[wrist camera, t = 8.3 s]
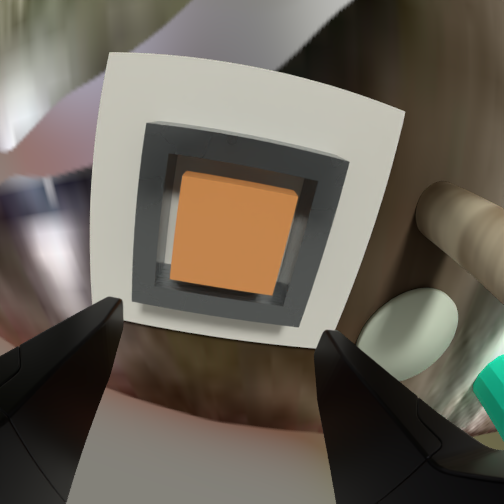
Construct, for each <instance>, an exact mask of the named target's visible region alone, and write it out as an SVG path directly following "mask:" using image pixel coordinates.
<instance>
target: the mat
mask: <svg viewBox="0 0 504 504" xmlns="http://www.w3.org/2000/svg"><path fill="white" fill-rule="evenodd" d="M457 324H458V312H457V308H456V305H455V304H454V302H453V301H452V300H451V299H450V298H449V296H448V295H447V294H445V293H444V292H443V291H440V290H438V289H434V288H418V289H413V290H410V291H407V292H405V293H402V294H400V295H398V296H396V297H395V298H393V299H391V300H390V301H388V302H387V303H385V304H384V305H383V306H382V307H381V308H379V309H378V310H377V311H376V312H375V313H374V314H373V315H372V316H371V318H370V319H369V320H368V321H367V323H366V324H365V326H364V327H363V329H362V331H361V333H360V335H359V337H358V340H357V343H356V346H357V347H358V348H360V349H361V350H362V351H363V352H364V353H366V354H367V355H368V356H369V357H370V358H372V359H373V360H374V361H375V362H376V363H378V364H379V365H380V366H381V367H382V368H384V369H385V370H386V371H387V372H389V373H390V374H391V375H392V376H393V377H395V378H396V379H397V380H398V381H402V380H405V379H408V378H411V377H413V376H415V375H417V374H419V373H420V372H422V371H424V370H425V369H427V368H428V367H429V366H431V365H432V364H433V363H434V362H435V361H436V360H437V359H439V357H440V356H441V355H442V354H443V353H444V352H445V350H446V349H447V348H448V346H449V345H450V343H451V341H452V339H453V337H454V335H455V332H456V329H457Z"/></svg>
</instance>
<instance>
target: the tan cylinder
mask: <svg viewBox="0 0 504 504" xmlns="http://www.w3.org/2000/svg"><path fill="white" fill-rule="evenodd" d="M416 223H417V227H418V229H419V230H420V232H421V233H422V234H423V235H424V236H425V237H426V238H428V239H429V240H430V241H431V242H433V243H434V244H435V245H436V246H438V247H439V248H440V249H441V250H443V251H444V252H445V253H446V254H447V255H449V256H450V257H451V258H452V259H453V260H455V261H456V262H457V263H458V264H459V265H460V266H462V267H463V268H464V269H465V270H466V271H467V272H468V273H470V274H471V275H472V276H473V277H474V278H475V279H476V280H478V281H479V282H480V283H481V284H482V285H483V286H484V287H485V288H486V289H487V290H489V291H490V292H491V293H492V294H493V295H494V296H495V297H496V298H497V299H498V300H499V301H500V302H501V303H502V304H503V305H504V209H503V208H501V207H500V206H498V205H496V204H494V203H492V202H490V201H488V200H486V199H484V198H482V197H480V196H478V195H476V194H473V193H471V192H469V191H467V190H465V189H463V188H461V187H459V186H456V185H454V184H452V183H450V182H446V181H439V182H436V183H434V184H432V185H430V186H429V187H428V188H427V189H426V190H425V191H424V192H423V193H422V195H421V197H420V199H419V201H418V204H417V207H416Z"/></svg>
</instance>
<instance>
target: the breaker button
mask: <svg viewBox="0 0 504 504" xmlns="http://www.w3.org/2000/svg"><path fill="white" fill-rule="evenodd" d="M297 200H298V196H297V194H296V193H295V191H294V190H290V189H285V188H281V187H276V186H271V185H266V184H260V183H255V182H250V181H245V180H239V179H234V178H228V177H222V176H216V175H211V174H205V173H198V172H192V171H186V172H185V173H184V174H183V175H182V181H181V188H180V195H179V203H178V210H177V218H176V226H175V234H174V243H173V252H172V261H171V271H170V279H172V280H177V281H183V282H189V283H195V284H201V285H207V286H213V287H219V288H226V289H232V290H238V291H245V292H251V293H258V294H265V295H273V291H274V288H275V284H276V280H277V277H278V273H279V269H280V265H281V262H282V258H283V254H284V251H285V247H286V243H287V239H288V235H289V231H290V228H291V224H292V220H293V216H294V212H295V208H296V204H297Z"/></svg>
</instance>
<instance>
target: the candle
mask: <svg viewBox="0 0 504 504" xmlns="http://www.w3.org/2000/svg"><path fill="white" fill-rule="evenodd" d="M473 392H474V393H475V395H476V396H477V398H478V399H479V401H480V403H481V404H482V406H483V407H484V409H485V411H486V412H487V414H488V415H489V417H490V419H491V420H492V422H493V424H494V425H495V427H496V429H497V430H498V432H499V434H500V436H501V437H502V439H503V441H504V355H501V356H499V357H497V358H496V359H495V360H493V361H492V362H491V363H489V364H488V365H487V366H486V367H485V368H484V369H483V371H482V372H481V373H480V374H479V375H478V377H477V379H476V381H475V382H474V384H473Z"/></svg>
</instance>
